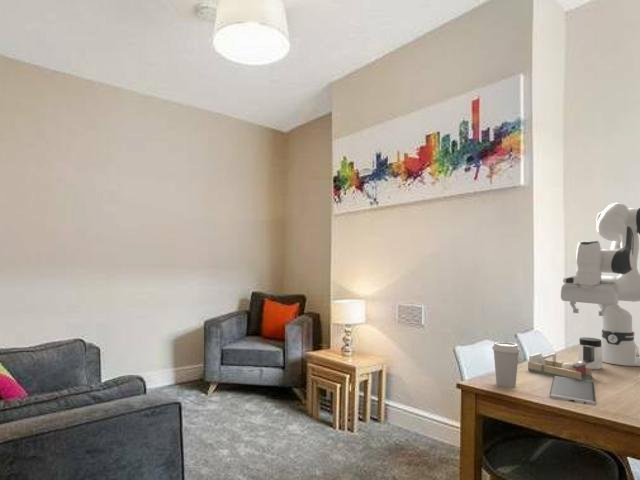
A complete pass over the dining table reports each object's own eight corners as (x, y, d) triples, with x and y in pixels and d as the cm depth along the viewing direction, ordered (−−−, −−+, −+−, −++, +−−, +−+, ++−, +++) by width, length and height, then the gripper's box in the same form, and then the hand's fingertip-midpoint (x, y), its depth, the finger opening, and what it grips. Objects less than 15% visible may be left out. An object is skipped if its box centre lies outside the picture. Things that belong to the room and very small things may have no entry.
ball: (563, 371, 178) (563, 361, 178) (574, 373, 175) (574, 363, 175) (559, 372, 176) (559, 362, 176) (570, 375, 172) (570, 364, 173)
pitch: (540, 366, 189) (540, 350, 189) (591, 377, 173) (591, 359, 173) (528, 370, 182) (528, 353, 182) (580, 382, 166) (580, 363, 167)
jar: (601, 366, 191) (601, 338, 192) (603, 370, 184) (603, 341, 185) (577, 363, 196) (577, 336, 196) (579, 367, 188) (579, 339, 189)
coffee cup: (524, 385, 161) (524, 344, 162) (514, 390, 155) (514, 348, 155) (498, 379, 168) (498, 340, 168) (487, 384, 161) (487, 343, 162)
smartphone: (549, 399, 147) (549, 394, 148) (553, 379, 171) (553, 375, 171) (595, 407, 141) (595, 402, 141) (593, 385, 164) (593, 380, 164)
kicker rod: (586, 370, 178) (586, 345, 179) (594, 371, 176) (594, 346, 176) (570, 376, 169) (570, 349, 169) (578, 378, 167) (578, 351, 167)
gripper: (621, 281, 171) (620, 317, 171) (565, 278, 187) (565, 311, 187) (615, 281, 167) (615, 318, 167) (559, 278, 183) (558, 311, 183)
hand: (588, 314), depth 177 cm, fingers open, 8 cm apart
